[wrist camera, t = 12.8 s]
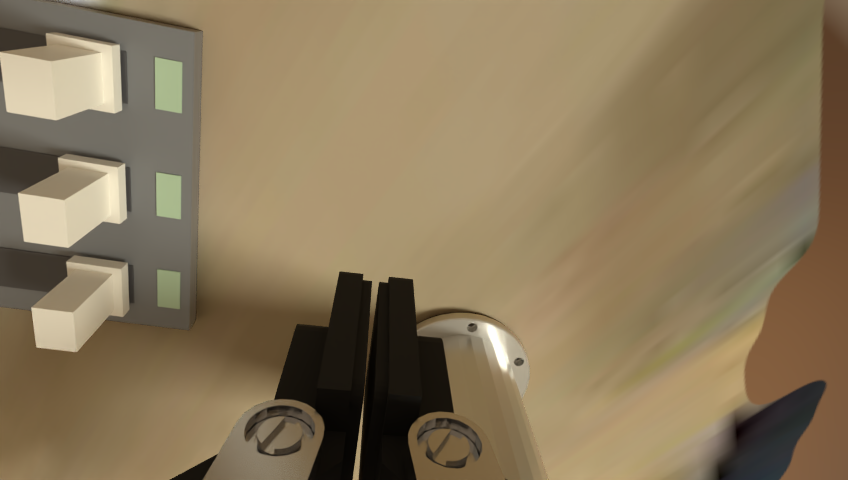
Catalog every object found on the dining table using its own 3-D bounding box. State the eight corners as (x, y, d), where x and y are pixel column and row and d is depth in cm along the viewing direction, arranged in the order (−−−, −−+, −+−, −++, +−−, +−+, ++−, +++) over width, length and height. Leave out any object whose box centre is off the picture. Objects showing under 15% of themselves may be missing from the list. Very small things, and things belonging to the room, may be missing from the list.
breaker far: (129, 309, 39) (87, 359, 34) (78, 303, 39) (26, 352, 33) (127, 262, 37) (83, 307, 32) (74, 255, 37) (19, 299, 32)
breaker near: (122, 110, 33) (69, 131, 28) (61, 99, 33) (-5, 119, 27) (119, 44, 31) (62, 53, 26) (55, 32, 31) (-16, 38, 26)
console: (195, 319, 42) (188, 331, 40) (-80, 284, 39) (-98, 295, 38) (202, 31, 33) (194, 32, 32) (-152, -40, 30) (-179, -42, 29)
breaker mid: (126, 218, 36) (80, 257, 31) (71, 210, 36) (13, 247, 30) (125, 163, 34) (75, 193, 29) (66, 153, 34) (5, 182, 29)
